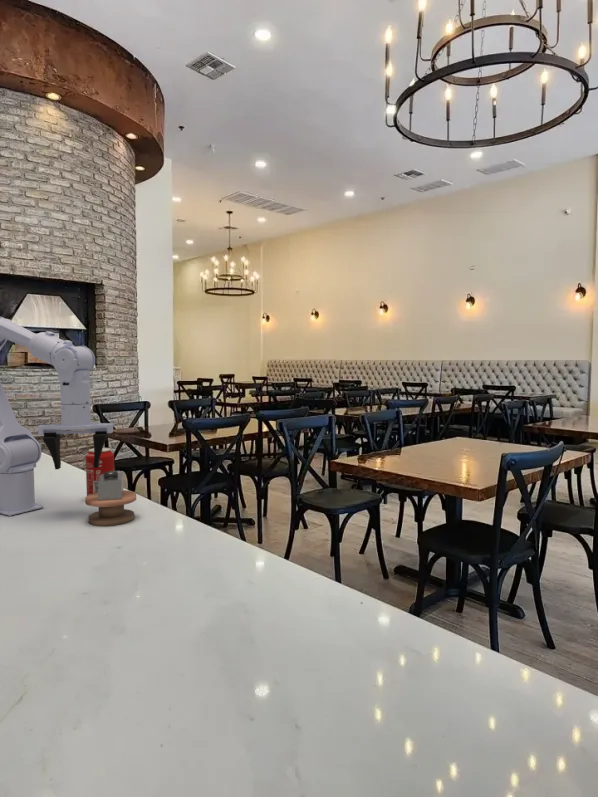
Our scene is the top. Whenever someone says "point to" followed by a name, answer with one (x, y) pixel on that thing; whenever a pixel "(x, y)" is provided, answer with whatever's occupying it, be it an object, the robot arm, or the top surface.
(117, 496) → the block
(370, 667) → the top surface
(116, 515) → the stand
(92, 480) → the beverage can
